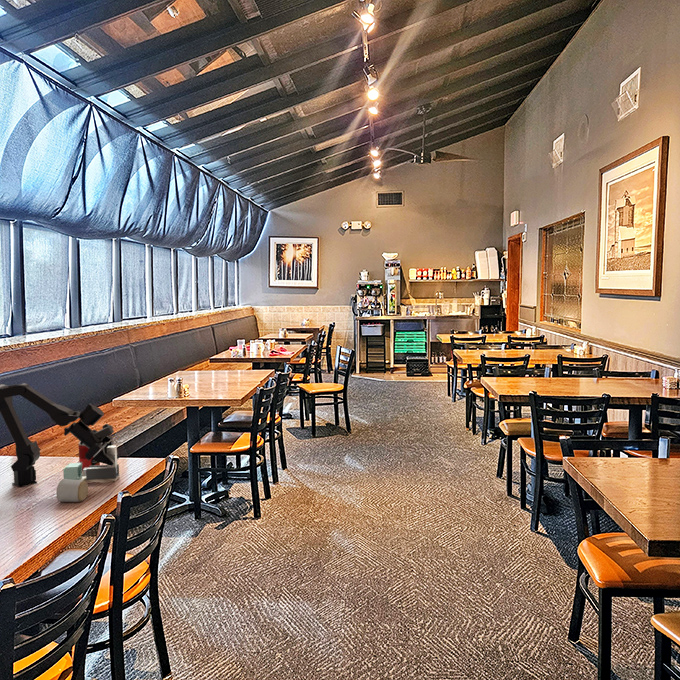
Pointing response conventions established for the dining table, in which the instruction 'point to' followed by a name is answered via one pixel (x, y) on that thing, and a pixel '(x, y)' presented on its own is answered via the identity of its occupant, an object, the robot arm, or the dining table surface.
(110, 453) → the light grey l-shaped piece
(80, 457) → the canned food
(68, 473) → the socket
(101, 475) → the sleeve
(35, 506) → the dining table surface
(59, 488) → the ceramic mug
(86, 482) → the base board
